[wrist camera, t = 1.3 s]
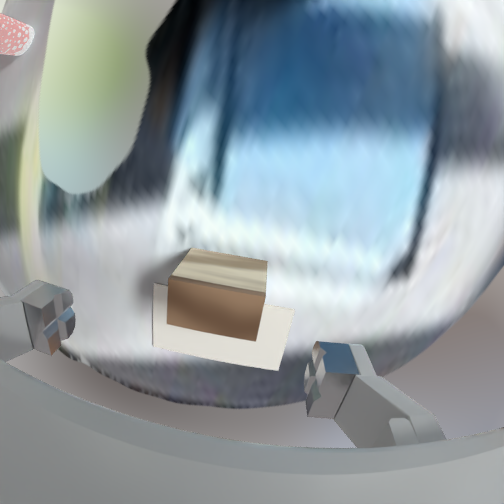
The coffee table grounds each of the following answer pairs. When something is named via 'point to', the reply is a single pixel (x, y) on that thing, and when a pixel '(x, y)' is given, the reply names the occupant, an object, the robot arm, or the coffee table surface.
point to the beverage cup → (14, 36)
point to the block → (217, 294)
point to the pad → (224, 337)
